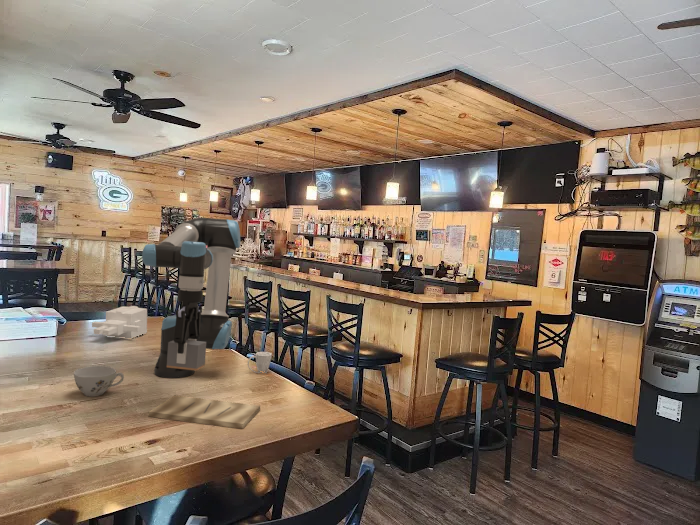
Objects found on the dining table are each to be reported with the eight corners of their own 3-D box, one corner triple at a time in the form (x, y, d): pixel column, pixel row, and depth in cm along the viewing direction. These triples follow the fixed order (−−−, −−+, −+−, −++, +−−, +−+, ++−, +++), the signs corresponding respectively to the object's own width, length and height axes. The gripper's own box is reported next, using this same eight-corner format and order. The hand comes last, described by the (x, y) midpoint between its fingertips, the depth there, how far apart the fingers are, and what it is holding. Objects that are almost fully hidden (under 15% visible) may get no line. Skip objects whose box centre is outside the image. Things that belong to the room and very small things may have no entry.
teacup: (71, 401, 148) (72, 377, 148) (73, 389, 159) (74, 366, 159) (123, 397, 155) (124, 374, 155) (122, 386, 166) (123, 364, 166)
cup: (272, 374, 194) (273, 355, 194) (248, 375, 190) (250, 356, 190) (268, 369, 201) (270, 351, 201) (245, 370, 197) (246, 352, 197)
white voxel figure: (77, 344, 226) (114, 330, 253) (124, 349, 222) (156, 334, 250) (77, 314, 224) (114, 303, 252) (125, 319, 221) (157, 308, 248)
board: (148, 416, 141) (148, 411, 141) (174, 399, 157) (174, 395, 157) (242, 428, 137) (243, 423, 137) (260, 410, 153) (260, 405, 153)
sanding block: (166, 367, 147) (168, 342, 147) (175, 363, 153) (177, 338, 153) (196, 370, 146) (198, 345, 146) (204, 366, 152) (206, 341, 152)
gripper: (188, 292, 139) (183, 369, 139) (214, 288, 158) (209, 355, 158) (164, 290, 140) (159, 366, 140) (193, 286, 159) (188, 353, 159)
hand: (186, 360), depth 149 cm, fingers closed on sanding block, 6 cm apart
